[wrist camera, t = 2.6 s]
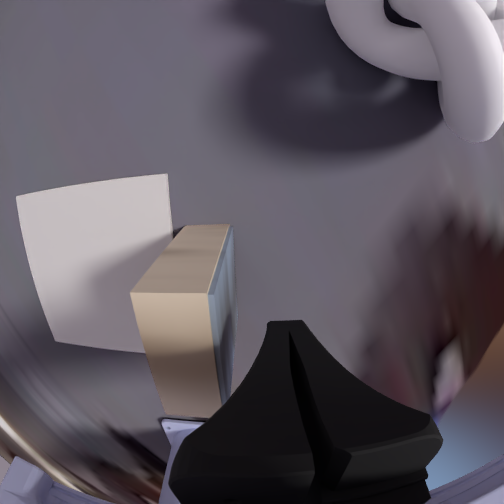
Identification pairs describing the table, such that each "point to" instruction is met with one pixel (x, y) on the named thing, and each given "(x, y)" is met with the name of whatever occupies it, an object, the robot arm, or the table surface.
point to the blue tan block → (190, 319)
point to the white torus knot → (436, 53)
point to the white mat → (95, 254)
